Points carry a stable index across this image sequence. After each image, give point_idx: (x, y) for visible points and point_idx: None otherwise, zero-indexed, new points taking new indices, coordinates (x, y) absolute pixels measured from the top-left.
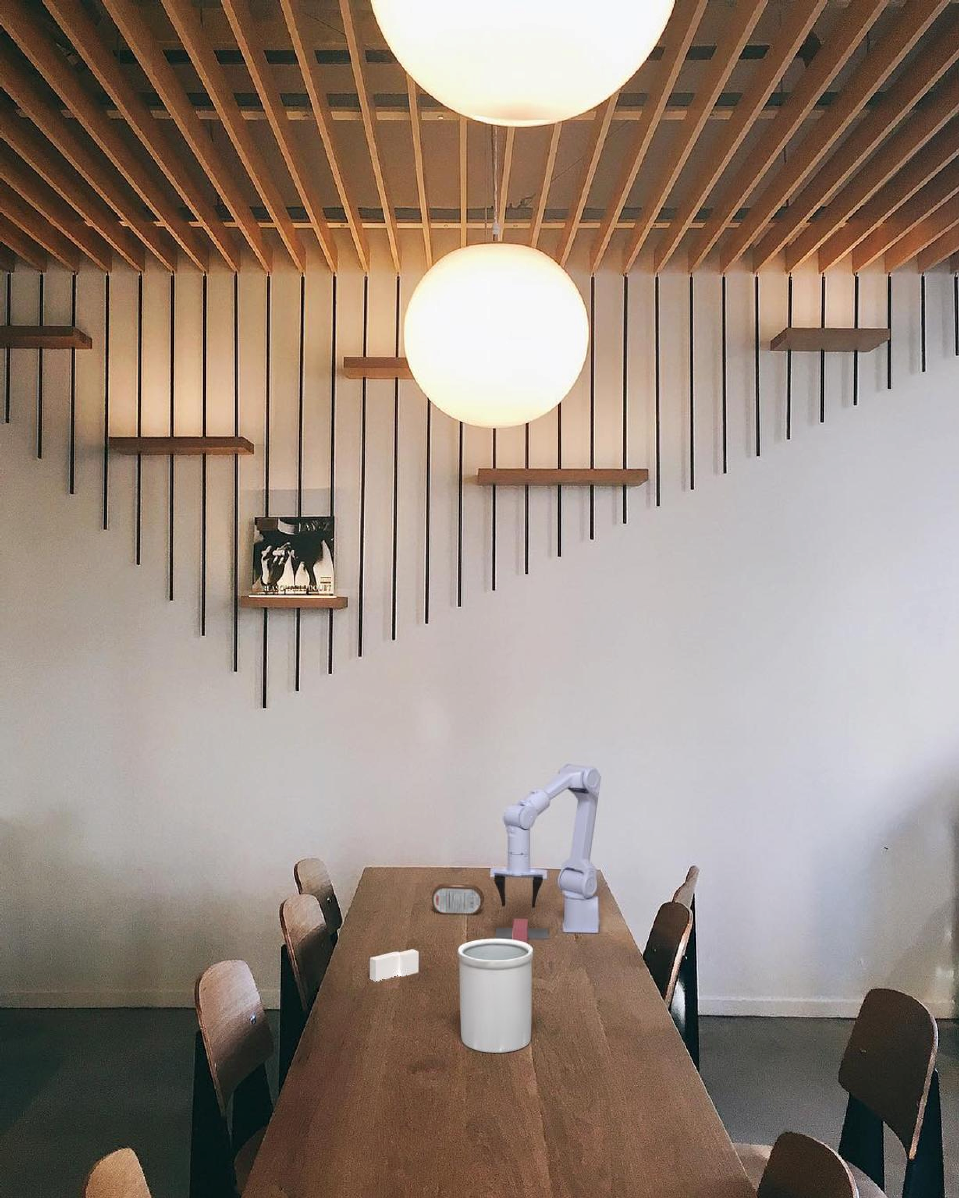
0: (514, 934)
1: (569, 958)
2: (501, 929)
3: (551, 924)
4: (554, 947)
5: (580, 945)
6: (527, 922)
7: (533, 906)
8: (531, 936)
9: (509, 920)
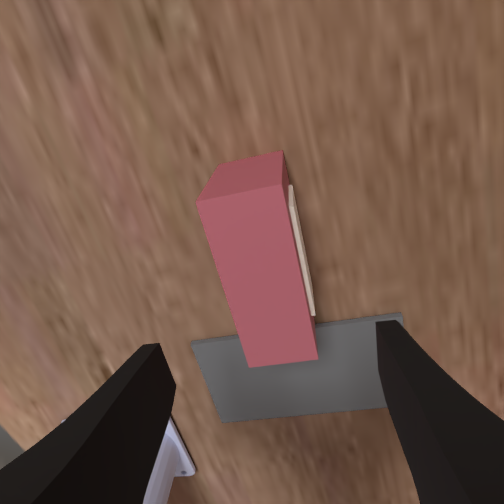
0: (272, 176)
1: (17, 144)
2: None
3: (230, 463)
4: (134, 263)
5: (58, 306)
6: (240, 333)
7: (144, 347)
8: None
9: (373, 474)
